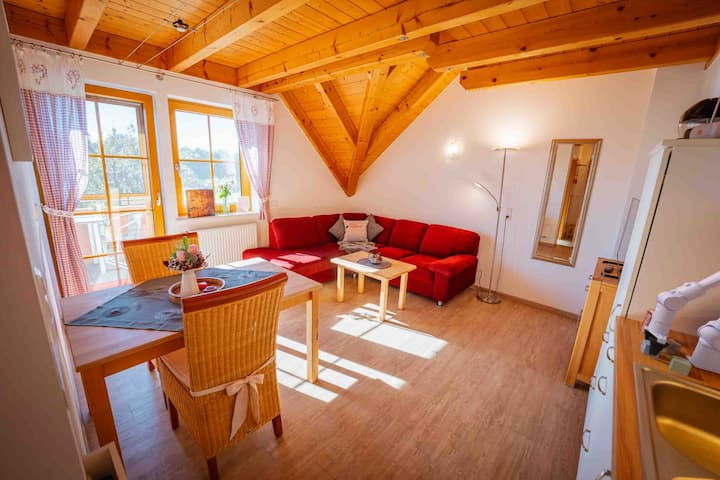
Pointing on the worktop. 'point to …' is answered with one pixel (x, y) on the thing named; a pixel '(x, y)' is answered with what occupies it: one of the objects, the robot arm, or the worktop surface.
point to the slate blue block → (646, 348)
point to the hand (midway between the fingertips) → (650, 349)
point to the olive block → (680, 365)
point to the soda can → (647, 320)
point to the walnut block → (672, 347)
